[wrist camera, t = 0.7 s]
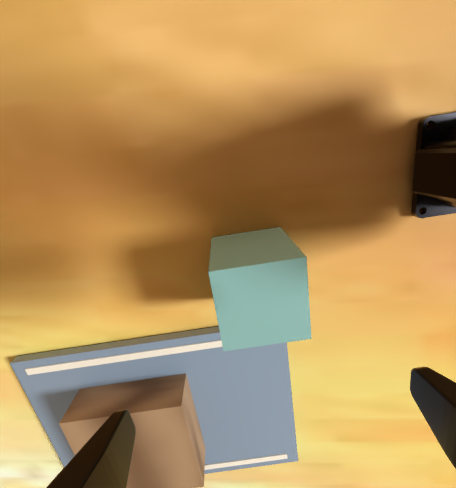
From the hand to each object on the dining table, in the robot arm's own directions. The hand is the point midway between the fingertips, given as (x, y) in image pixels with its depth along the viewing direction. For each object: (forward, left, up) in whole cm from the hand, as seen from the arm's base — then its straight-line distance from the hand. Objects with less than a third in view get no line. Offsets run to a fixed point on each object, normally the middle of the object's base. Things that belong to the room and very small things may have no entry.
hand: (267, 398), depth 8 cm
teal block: (-1, +1, -12) cm, 12 cm away
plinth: (+10, +14, -11) cm, 20 cm away
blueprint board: (+8, +14, -12) cm, 20 cm away
